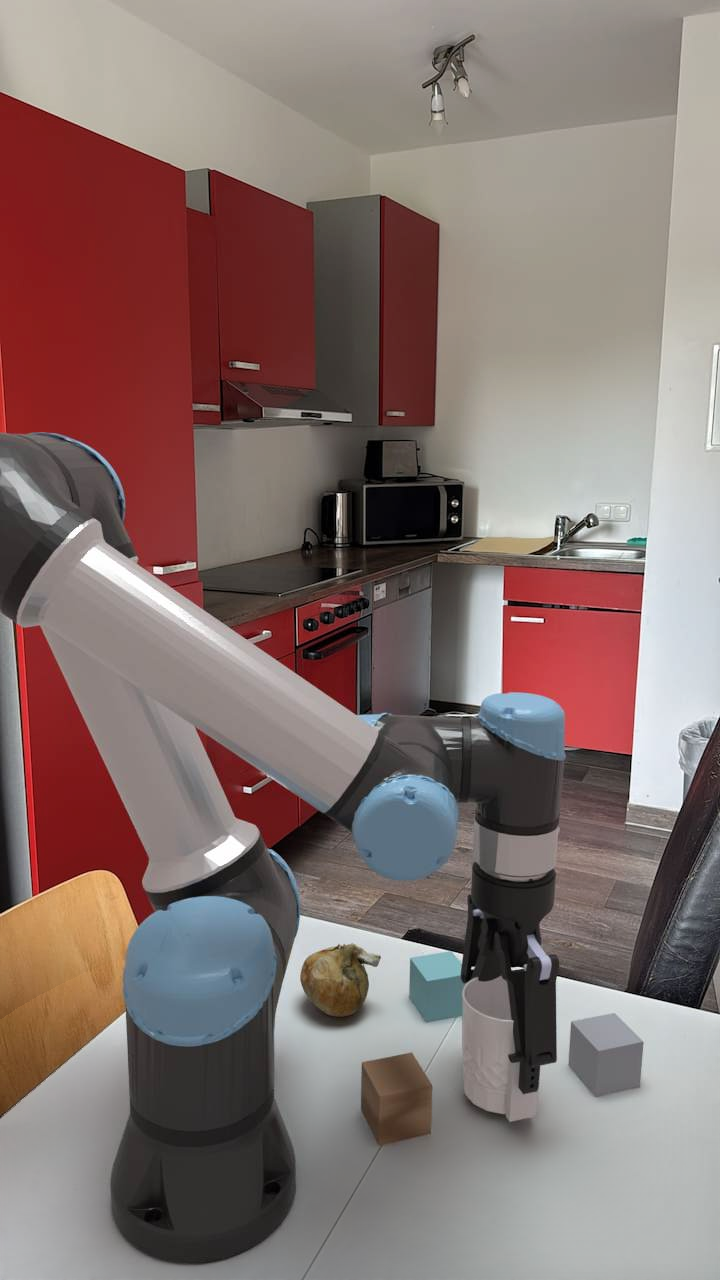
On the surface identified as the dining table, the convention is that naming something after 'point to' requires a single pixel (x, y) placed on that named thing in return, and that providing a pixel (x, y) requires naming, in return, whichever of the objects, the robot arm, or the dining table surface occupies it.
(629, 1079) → the slate grey block
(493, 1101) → the white cup
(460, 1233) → the dining table surface
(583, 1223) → the dining table surface
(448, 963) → the dusty teal block
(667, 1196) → the dining table surface
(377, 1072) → the walnut block
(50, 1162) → the dining table surface
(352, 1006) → the onion
